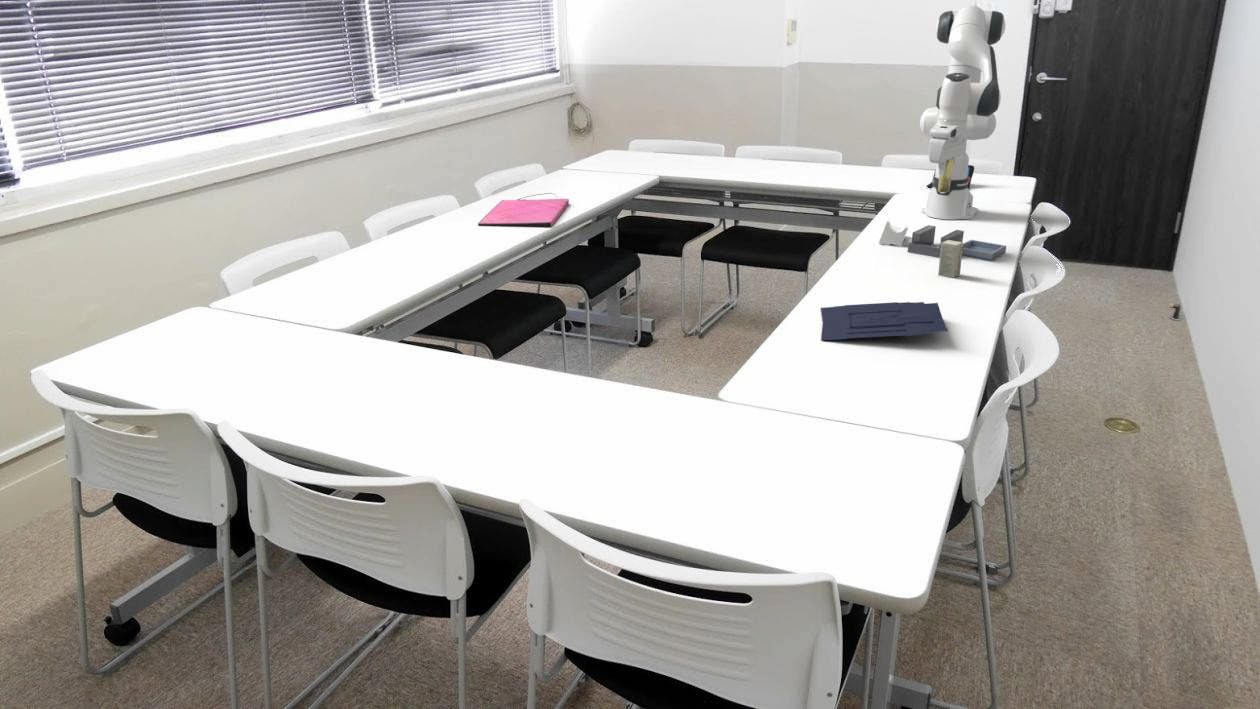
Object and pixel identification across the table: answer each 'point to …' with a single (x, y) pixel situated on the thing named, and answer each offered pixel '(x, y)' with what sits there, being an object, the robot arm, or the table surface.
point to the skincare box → (950, 258)
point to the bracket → (893, 234)
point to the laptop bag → (525, 213)
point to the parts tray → (982, 250)
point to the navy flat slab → (881, 320)
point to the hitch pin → (946, 178)
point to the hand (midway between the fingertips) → (945, 173)
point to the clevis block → (930, 241)
